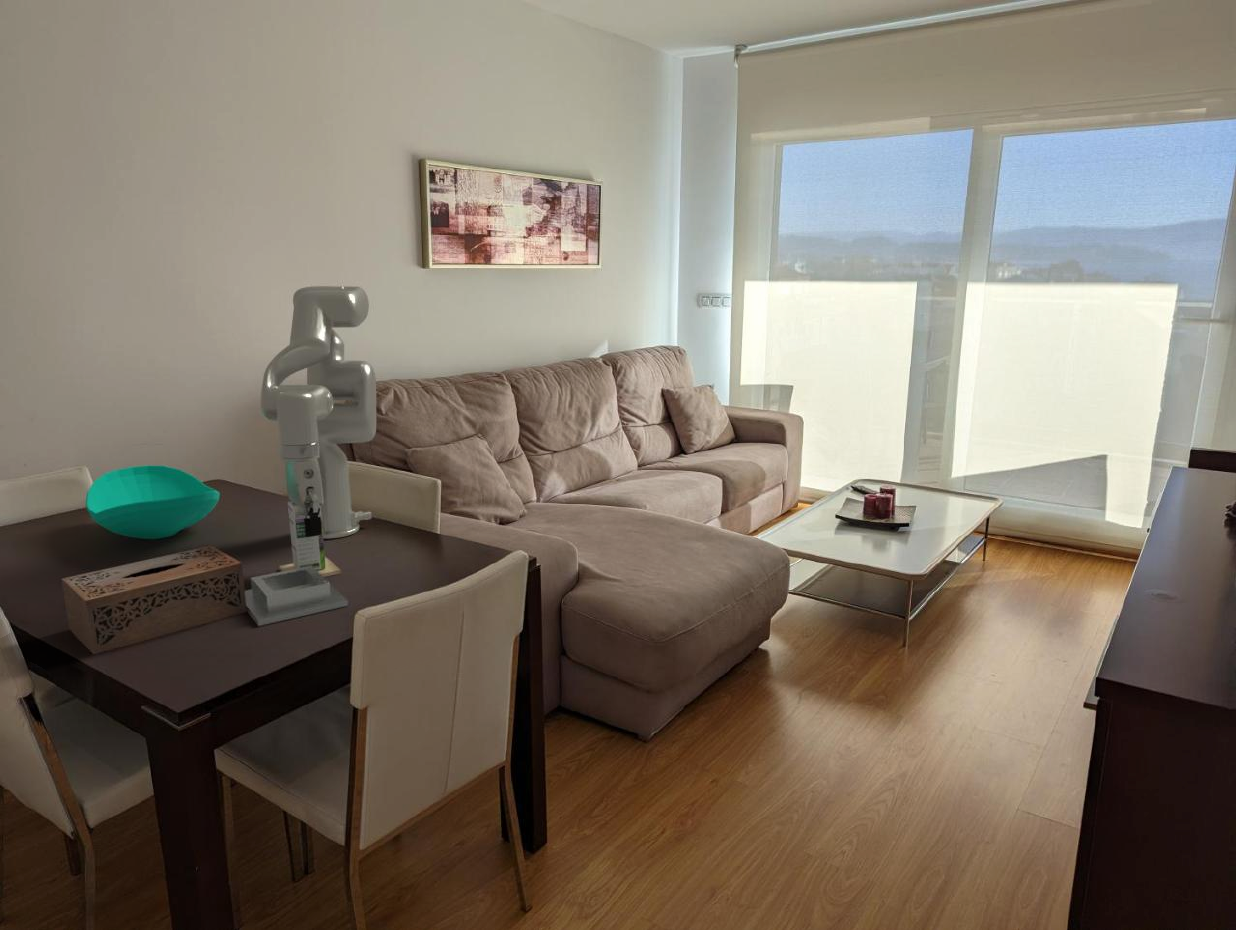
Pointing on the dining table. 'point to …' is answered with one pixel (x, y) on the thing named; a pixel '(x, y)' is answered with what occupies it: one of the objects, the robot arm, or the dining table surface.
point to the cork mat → (328, 571)
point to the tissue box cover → (153, 597)
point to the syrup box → (305, 541)
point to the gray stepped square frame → (290, 595)
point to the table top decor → (149, 501)
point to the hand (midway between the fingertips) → (306, 529)
